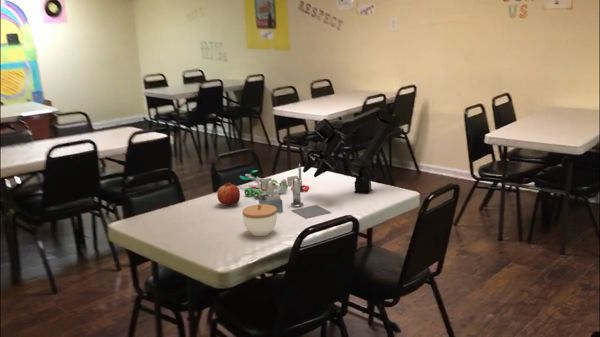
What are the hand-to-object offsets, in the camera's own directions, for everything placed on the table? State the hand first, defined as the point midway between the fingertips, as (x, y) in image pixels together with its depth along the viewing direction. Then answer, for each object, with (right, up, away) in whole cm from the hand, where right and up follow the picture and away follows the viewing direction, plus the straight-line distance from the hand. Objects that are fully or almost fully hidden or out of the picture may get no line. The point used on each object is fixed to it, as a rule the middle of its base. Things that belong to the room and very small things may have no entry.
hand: (308, 174), depth 248 cm
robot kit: (-22, -9, +23) cm, 33 cm away
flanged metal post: (-5, -13, 0) cm, 14 cm away
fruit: (-34, -14, +5) cm, 37 cm away
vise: (-16, -15, -4) cm, 22 cm away
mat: (+1, -15, -8) cm, 17 cm away
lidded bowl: (-18, -22, -29) cm, 41 cm away
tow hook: (-4, -7, +24) cm, 25 cm away
